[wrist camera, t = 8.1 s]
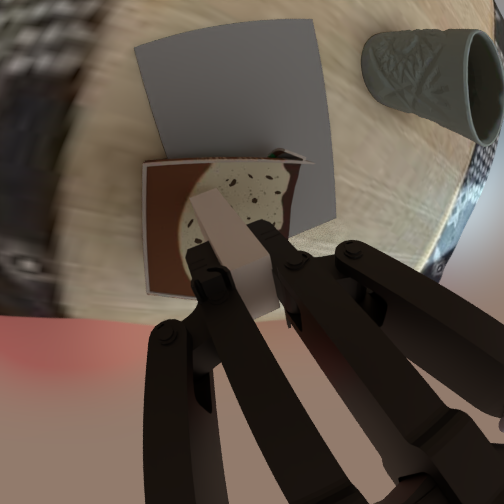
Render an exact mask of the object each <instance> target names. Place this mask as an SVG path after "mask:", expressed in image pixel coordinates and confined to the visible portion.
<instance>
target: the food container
mask: <svg viewBox="0 0 504 504" xmlns="http://www.w3.org/2000/svg"><path fill="white" fill-rule="evenodd" d="M301 164H315V163H314V162H311V161H308V160H306V157H304V156H302V155H299V154H297V153H294V152H291V151H289V150H286V149H283V148H276V149H274V150H273V151H271V152H270V153H269V155H268V156H267V157H266V158H264V157H203V158H178V159H161V160H148V161H145V162H143V172H142V229H143V252H144V268H145V281H146V292H147V294H148V295H156V296H164V297H172V298H181V299H191V300H197V299H196V297H195V295H194V293H193V291H192V289H191V280H192V277H191V274H190V271H189V268H188V265H187V262H186V259H185V256H186V253H187V249H189V248H192V247H194V246H197V245H199V244H202V243H204V242H205V240H204V238H203V235H202V232H201V229H200V227H199V224H198V221H197V218H196V216H195V213H194V210H193V207H192V204H191V202H190V199H189V198H191V197H193V196H196V195H199V194H201V193H204V192H206V191H209V190H212V189H214V188H217V189H218V191H219V192H220V193H221V194H222V196H223V197H224V198H225V199H226V201H227V202H228V203H229V204H230V206H231V207H232V208H233V209H234V211H235V212H236V213H237V214H238V216H239V217H240V218H241V219H242V220H243V222H244V223H245V224H246V225H247V224H249V223H252V222H254V221H257V220H260V219H263V220H266V221H268V222H271V223H272V224H273V225H274V227H275V228H276V229H277V230H278V231H279V232H280V233H281V234H282V235H283V236H284V237H285V238H286V239H287V240H288V238H289V230H290V216H291V205H292V200H293V195H294V190H295V186H296V183H297V179H298V176H299V171H300V167H301Z"/></svg>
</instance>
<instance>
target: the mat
mask: <svg viewBox="0 0 504 504" xmlns="http://www.w3.org/2000/svg"><path fill="white" fill-rule="evenodd" d="M134 50H135V54H136V57H137V61H138V65H139V68H140V72H141V75H142V79H143V82H144V86H145V89H146V93H147V96H148V99H149V102H150V106H151V109H152V112H153V115H154V119H155V122H156V125H157V128H158V131H159V134H160V137H161V140H162V143H163V146H164V149H165V152H166V155H167V158H168V159H178V158H203V157H264V158H266V157H267V156H268V155H269V153H270V152H271V151H273V150H274V149H276V148H283V149H286V150H289V151H291V152H294V153H297V154H299V155H302V156H304V157H306V160H308V161H311V162H314V163H315V164H301V167H300V171H299V176H298V179H297V183H296V186H295V190H294V195H293V200H292V205H291V216H290V230H289V238H290V237H292V236H294V235H297V234H299V233H302V232H304V231H306V230H309V229H311V228H313V227H316V226H318V225H321V224H323V223H325V222H328V221H330V220H333V219H335V218H336V198H335V179H334V165H333V152H332V141H331V131H330V122H329V113H328V105H327V98H326V91H325V84H324V78H323V71H322V65H321V60H320V54H319V49H318V44H317V39H316V34H315V29H314V25H313V20H312V19H276V20H260V21H249V22H240V23H233V24H226V25H219V26H214V27H208V28H203V29H198V30H193V31H189V32H185V33H180V34H177V35H173V36H169V37H165V38H162V39H158V40H155V41H152V42H149V43H146V44H143V45H140V46H137V47H134Z"/></svg>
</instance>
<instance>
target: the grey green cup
mask: <svg viewBox="0 0 504 504" xmlns="http://www.w3.org/2000/svg"><path fill="white" fill-rule="evenodd" d="M361 67H362V74H363V78H364V81H365V83H366V86H367V88H368V90H369V91H370V93H371V94H372V96H373V97H374V98H375V99H376V100H377V101H378V102H380V103H382V104H383V105H386V106H388V107H391V108H394V109H397V110H400V111H403V112H406V113H414V114H416V115H418V116H419V117H422V118H426V119H429V120H431V121H434V122H436V123H438V124H439V125H441V126H442V127H445V128H447V129H449V130H451V131H454V132H456V133H458V134H460V135H462V136H464V137H466V138H468V139H470V140H472V141H474V142H475V143H477V144H479V145H481V146H484V147H487V146H489V145H491V144H492V143H493V142H494V141H495V139H496V137H497V136H498V134H499V131H500V129H501V126H502V122H503V118H504V70H503V66H502V62H501V59H500V56H499V54H498V51H497V49H496V47H495V45H494V43H493V41H492V40H491V38H490V37H489V36H488V35H487V34H486V33H485V32H483V31H481V30H478V29H447V30H445V31H441V30H439V29H423V30H419V29H416V30H413V31H411V30H406V31H399V32H385V33H379V34H376V35H374V36H372V37H371V38H370V39H369V40H368V41H367V42H366V44H365V46H364V48H363V52H362V58H361Z"/></svg>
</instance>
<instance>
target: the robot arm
mask: <svg viewBox="0 0 504 504" xmlns="http://www.w3.org/2000/svg"><path fill="white" fill-rule="evenodd" d="M189 199H190V202H191V204H192V207H193V210H194V213H195V216H196V218H197V221H198V224H199V227H200V229H201V232H202V235H203V238H204V240H205V242H204V243H202V244H199V245H197V246H194V247H192V248H189V249H187V253H186V256H185V259H186V262H187V265H188V268H189V271H190V274H191V277H192V280H191V289H192V291H193V293H194V295H195V297H196V299H197V301H198V304H197V306H196V308H195V310H194V311H193V312H192V313H191V314H190V315H189V316H188V317H187V318H185V319H184V320H183V321H179V320H176V319H168V320H165V321H163V322H161V323H159V324H158V325H157V326H155V328H154V329H153V330H152V332H151V334H150V337H149V342H148V352H147V363H146V364H147V365H146V377H145V391H144V392H145V393H144V414H143V472H144V491H145V504H229V502H228V495H227V489H226V482H225V476H224V469H223V461H222V453H221V445H220V437H219V428H218V419H217V411H216V399H215V390H214V389H215V388H214V377H213V368H214V367H215V366H217V365H218V364H219V363H222V365H223V367H224V370H225V372H226V375H227V377H228V379H229V382H230V384H231V387H232V389H233V391H234V393H235V396H236V398H237V400H238V403H239V405H240V407H241V409H242V412H243V414H244V416H245V418H246V420H247V423H248V425H249V427H250V429H251V431H252V433H253V435H254V437H255V440H256V442H257V444H258V446H259V448H260V450H261V451H262V454H263V456H264V458H265V460H266V462H267V464H268V466H269V468H270V470H271V471H272V473H273V475H274V477H275V479H276V481H277V483H278V485H279V486H280V488H281V490H282V492H283V494H284V496H285V497H286V499H287V501H288V503H289V504H369V503H368V502H367V501H366V499H365V498H364V496H363V495H362V494H361V493H360V491H359V490H358V489H357V488H356V487H355V486H354V485H353V484H352V483H351V482H350V480H349V479H348V477H347V476H346V474H345V473H344V471H343V470H342V468H341V467H340V465H339V464H338V462H337V460H336V459H335V457H334V456H333V454H332V453H331V451H330V449H329V448H328V446H327V445H326V443H325V442H324V440H323V438H322V437H321V435H320V433H319V432H318V430H317V428H316V427H315V425H314V424H313V422H312V420H311V419H310V417H309V415H308V414H307V412H306V410H305V409H304V407H303V405H302V404H301V402H300V400H299V399H298V397H297V395H296V394H295V392H294V390H293V388H292V387H291V385H290V383H289V382H288V380H287V378H286V377H285V375H284V373H283V371H282V370H281V368H280V366H279V364H278V363H277V361H276V359H275V358H274V356H273V354H272V352H271V350H270V349H269V347H268V345H267V343H266V341H265V340H264V338H263V336H262V334H261V333H260V331H259V329H258V327H257V325H256V324H255V322H254V319H256V318H259V317H261V316H263V315H265V314H267V313H270V312H272V311H274V310H276V309H278V308H280V303H279V300H280V302H281V303H282V305H283V306H284V309H285V315H286V321H287V325H288V328H291V324H292V326H293V327H294V329H295V330H296V332H297V333H298V335H299V336H300V338H301V339H302V341H303V342H304V344H305V345H306V347H307V348H308V349H309V351H310V353H311V354H312V356H313V357H314V359H315V360H316V362H317V363H318V365H319V366H320V368H321V369H322V371H323V372H324V373H325V375H326V376H327V378H328V379H329V381H330V382H331V384H332V385H333V387H334V388H335V390H336V391H337V393H338V394H339V396H340V397H341V398H342V400H343V401H344V403H345V404H346V406H347V407H348V409H349V410H350V412H351V413H352V415H353V416H354V418H355V419H356V421H357V422H358V424H359V425H360V427H361V428H362V429H363V431H364V432H365V434H366V435H367V437H368V438H369V440H370V441H371V443H372V444H373V445H374V447H375V448H376V450H377V451H378V453H379V454H380V456H381V458H382V462H383V466H384V468H385V470H386V471H387V473H388V475H389V476H390V477H391V479H392V480H393V482H394V483H395V485H396V487H395V488H394V489H393V490H392V491H391V492H390V493H389V494H388V495H387V496H386V497H385V498H384V499H383V500H381V501H379V502H377V503H374V504H504V444H498V443H497V444H496V443H490V442H489V441H488V439H487V438H486V437H485V435H484V434H483V433H482V431H481V430H480V429H479V427H478V426H477V425H476V423H475V422H474V421H473V419H472V418H471V417H470V416H469V415H468V414H467V413H465V412H463V411H461V410H458V409H451V408H449V407H447V406H446V405H445V404H444V403H443V401H442V400H441V399H440V398H439V397H438V395H437V394H436V393H435V392H434V391H433V389H432V388H431V387H430V386H429V384H428V383H427V382H426V381H425V380H424V378H423V377H422V376H421V375H420V374H419V372H418V371H417V370H416V369H415V368H414V367H413V365H412V364H411V363H410V362H409V361H408V360H407V358H408V359H409V360H410V361H412V362H413V363H415V364H416V365H417V366H419V367H420V368H422V369H423V370H425V371H426V372H427V373H428V374H430V375H431V376H433V377H434V378H436V379H437V380H438V381H440V382H441V383H442V384H444V385H445V386H447V387H448V388H449V389H451V390H452V391H454V392H455V393H456V394H458V395H459V396H460V397H462V398H463V399H464V400H466V401H467V402H469V403H470V404H472V405H473V406H474V407H476V408H477V409H479V410H480V411H482V412H484V413H486V414H489V415H491V416H494V417H498V418H501V419H500V421H499V429H500V431H501V432H504V325H503V324H502V323H500V322H499V321H497V320H496V319H494V318H493V317H491V316H490V315H488V314H487V313H485V312H484V311H482V310H481V309H479V308H478V307H476V306H474V305H473V304H471V303H470V302H468V301H466V300H465V299H463V298H462V297H460V296H458V295H457V294H455V293H453V292H452V291H450V290H448V289H447V288H445V287H443V286H442V285H440V284H438V283H437V282H435V281H433V280H431V279H430V278H428V277H426V276H425V275H423V274H421V273H419V272H418V271H416V270H414V269H412V268H410V267H409V266H407V265H405V264H403V263H401V262H400V261H398V260H396V259H394V258H392V257H390V256H388V255H387V254H385V253H383V252H381V251H379V250H377V249H375V248H373V247H371V246H370V245H368V244H366V243H364V242H361V241H358V240H348V241H344V242H342V243H340V244H339V245H338V246H337V247H336V250H335V254H334V255H328V256H323V257H313V256H312V255H310V254H309V253H307V252H304V251H297V249H296V248H295V247H294V246H293V245H292V244H291V243H290V242H289V241H288V240H287V239H286V238H285V237H284V236H283V235H282V234H281V233H280V232H279V231H278V230H277V229H276V228H275V227H274V225H273V224H272V223H271V222H268V221H266V220H263V219H260V220H257V221H254V222H252V223H249V224H247V225H246V224H245V223H244V222H243V220H242V219H241V218H240V217H239V216H238V214H237V213H236V212H235V211H234V209H233V208H232V207H231V206H230V204H229V203H228V202H227V201H226V199H225V198H224V197H223V196H222V194H221V193H220V192H219V191H218V189H217V188H214V189H212V190H209V191H206V192H204V193H201V194H199V195H196V196H193V197H191V198H189Z"/></svg>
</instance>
